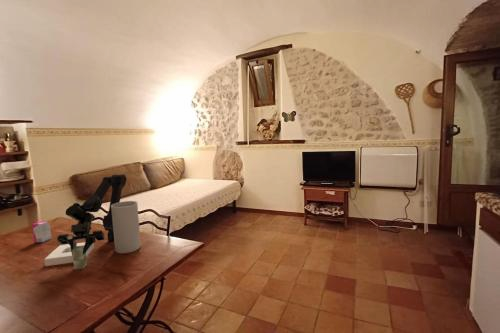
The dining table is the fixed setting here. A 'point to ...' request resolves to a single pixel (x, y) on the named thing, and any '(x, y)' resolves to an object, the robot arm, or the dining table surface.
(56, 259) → the socket block
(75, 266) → the peg
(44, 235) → the supplement box
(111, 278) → the dining table surface
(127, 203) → the cylinder vase
